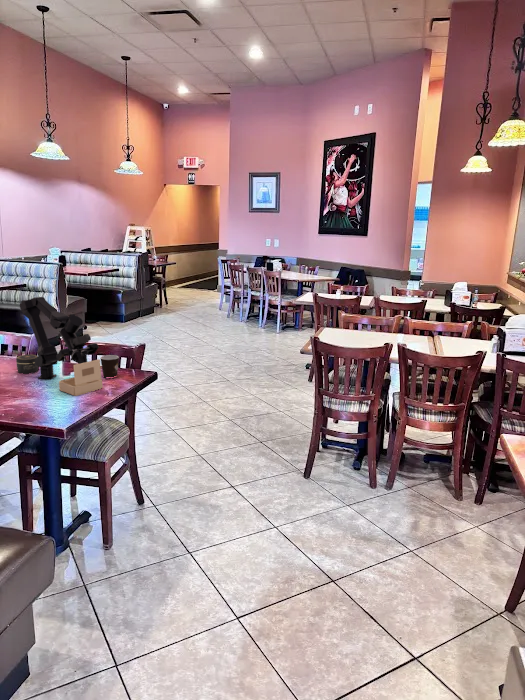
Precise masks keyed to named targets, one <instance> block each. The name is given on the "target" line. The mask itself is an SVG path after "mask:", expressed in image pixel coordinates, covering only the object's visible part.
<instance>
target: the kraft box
mask: <svg viewBox="0 0 525 700" xmlns="http://www.w3.org/2000/svg"><path fill="white" fill-rule="evenodd" d="M58 385H59V389H58V390H59V391H61V392H63V393H66V394H69V395H72V396H73V397H74V396H75V397H77V396H81V395H84V394H89V393H91V391H92V392H95V390H96V391H99V390H102V389H101V388H103V387H104V386H103V378H101V379H98V380H94V381H91V382H87V383H83V384H79V385H75V377H70V378H65V379H62V380H61V379H60V380H59V382H58ZM98 389H99V390H98ZM88 392H89V393H88Z"/></svg>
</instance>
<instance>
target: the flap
mask: <svg viewBox="0 0 525 700" xmlns="http://www.w3.org/2000/svg"><path fill="white" fill-rule="evenodd" d="M101 370H102V367H101V358H100V359H99V358H98V359H95V360H90V361H87V362H85V363H81V364H78V363H77V364H73V376H74V377H75V385H79V384H83V383H87V382H91V381H94V380H98V379H102V371H101Z"/></svg>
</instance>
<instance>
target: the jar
mask: <svg viewBox="0 0 525 700" xmlns="http://www.w3.org/2000/svg"><path fill="white" fill-rule="evenodd" d="M37 357H38V355H36V354H22V355H19V356H17V357H16V359H15V363H16V370H17V373H19V374H20V373H23V374H22V375H30V374H29V373H32V374H36V373H37V372H38V371H39V368H40V367H38V366H36V365H35V360H36V359H37ZM35 372H36V373H35Z"/></svg>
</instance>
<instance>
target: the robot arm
mask: <svg viewBox="0 0 525 700" xmlns="http://www.w3.org/2000/svg"><path fill="white" fill-rule="evenodd" d="M19 309H20V310H21V312H22V314H23V316H24V317H26V318H27V319H28V321H29V324H30V326H31V328H32V332H33V334H34V338H35V340H36V342H37V345H38V349H37V356H38V357H37V359H36V360H35V365H36V366H38V367H39V368H40V369H39V370H40V375H39V376H38V377H37V379H38V380H40V379H41V380H52V379H53V378H55V377H57V374H54V366H55V365H58V363H59V362H63V361H65V359H66V357H69V356H70V359H69V360H70V361H73V362H75V363H77V364H81V363H85V362H88V356H90V355H91V356H92V355H94V354H96V352H97V351H98V349H99V348H100V346H99V345H98V343H97V342H93V343H89V342H90V341H91V340H92V338H91V336H90V334H89V333H84V334H83V335H80V336H77V334H76V333H77V332H78V331H79V329H80V328H81V327H82V325H83V323H84V320H83V319H82V318H81V317H79V316H78V315H75V313H70V314H69V315H67V314H66V313H64V312H62V311H61V312H60V311H58V310H57V309H56V308H55V307H54V306H52V304H51V303H49V302H48V301H47V300H46V298H45V297H43V296H36V297H33V298H30V299H25V300H22V301H21V302H20V303H19ZM41 313H42V314H44V315H45V317H47V318H48V319H49V324H50V325H51V326H52V328H53V329H55V330H59V329H61V330H59V331H58V335H57V336H58V338H62V340H63V342H64V347H65V348H62V349H60V350H59V351H58V350H57V347H56V345H55V344H54V345H52V344H51V343H50V342H49V339H48V336H47V333H46V330H45V328H44V324H43V322H42V319H41ZM87 343H89V344H87ZM86 344H87V346H86ZM85 346H86V347H85Z"/></svg>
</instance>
